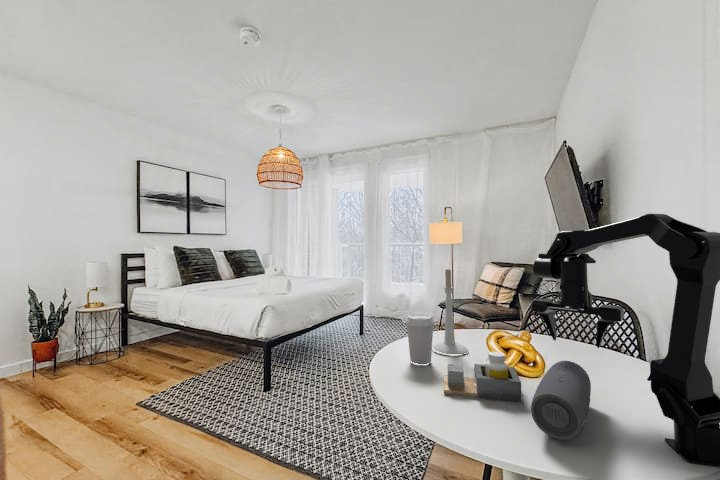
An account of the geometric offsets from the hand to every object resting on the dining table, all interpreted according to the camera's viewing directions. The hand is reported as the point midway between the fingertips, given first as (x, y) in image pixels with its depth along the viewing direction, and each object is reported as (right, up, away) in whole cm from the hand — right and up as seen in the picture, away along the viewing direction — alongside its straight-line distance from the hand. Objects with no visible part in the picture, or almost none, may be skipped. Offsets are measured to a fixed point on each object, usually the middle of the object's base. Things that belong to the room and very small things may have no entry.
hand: (575, 343), depth 79 cm
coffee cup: (-34, -14, +24) cm, 44 cm away
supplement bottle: (-19, -14, +2) cm, 23 cm away
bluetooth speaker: (-10, -13, -11) cm, 20 cm away
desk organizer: (-23, -13, +4) cm, 27 cm away
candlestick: (-21, -15, +36) cm, 44 cm away
